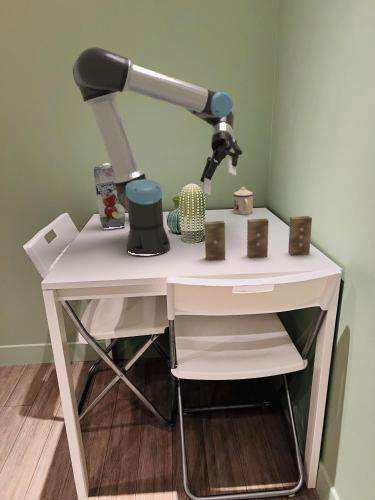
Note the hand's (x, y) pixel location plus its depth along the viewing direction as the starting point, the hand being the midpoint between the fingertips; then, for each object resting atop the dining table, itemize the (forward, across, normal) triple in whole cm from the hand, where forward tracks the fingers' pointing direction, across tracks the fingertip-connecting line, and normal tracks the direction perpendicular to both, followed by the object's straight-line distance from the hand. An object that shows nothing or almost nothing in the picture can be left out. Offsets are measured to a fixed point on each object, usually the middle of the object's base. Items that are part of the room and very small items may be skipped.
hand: (218, 184), depth 124 cm
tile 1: (+24, +6, -5) cm, 25 cm away
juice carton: (-2, +54, +15) cm, 56 cm away
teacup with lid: (-20, +29, -36) cm, 50 cm away
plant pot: (-17, +45, -13) cm, 50 cm away
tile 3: (+20, -9, -27) cm, 35 cm away
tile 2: (+22, -2, -16) cm, 27 cm away
